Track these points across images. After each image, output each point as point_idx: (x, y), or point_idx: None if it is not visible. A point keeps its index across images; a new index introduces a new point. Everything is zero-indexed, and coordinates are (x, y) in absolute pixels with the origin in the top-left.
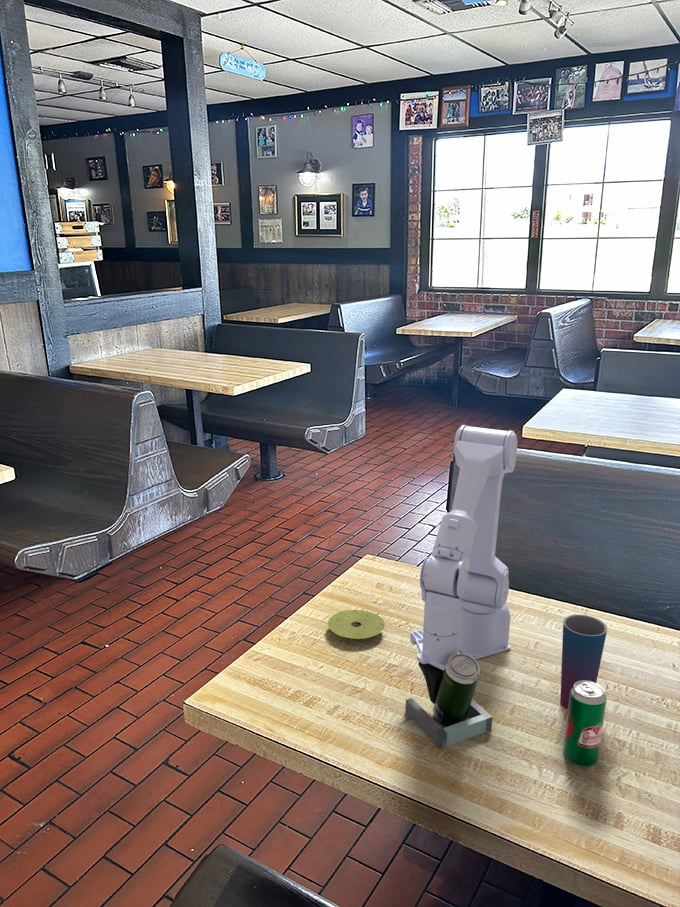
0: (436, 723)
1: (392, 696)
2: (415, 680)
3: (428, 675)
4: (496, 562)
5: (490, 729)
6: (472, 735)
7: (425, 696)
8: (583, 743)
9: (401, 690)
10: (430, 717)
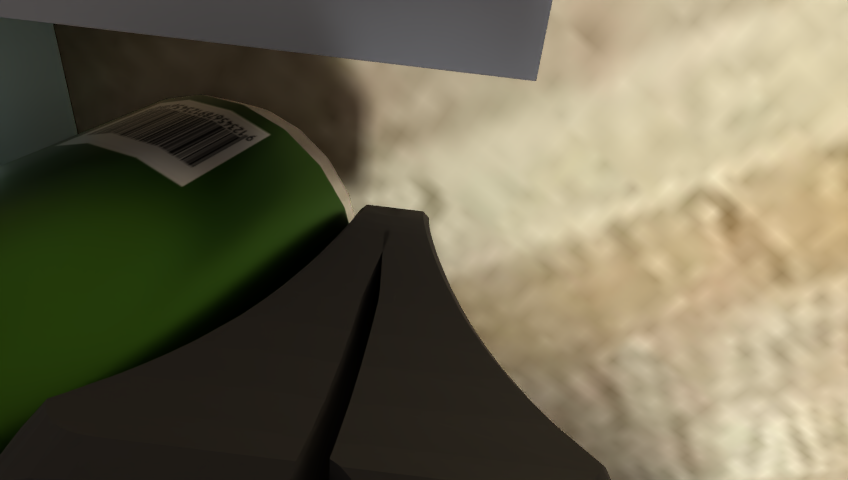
0: (31, 7)
1: (806, 22)
2: (784, 308)
3: (298, 397)
4: None
5: None
6: None
7: (589, 246)
8: None
9: (794, 148)
10: (145, 20)
